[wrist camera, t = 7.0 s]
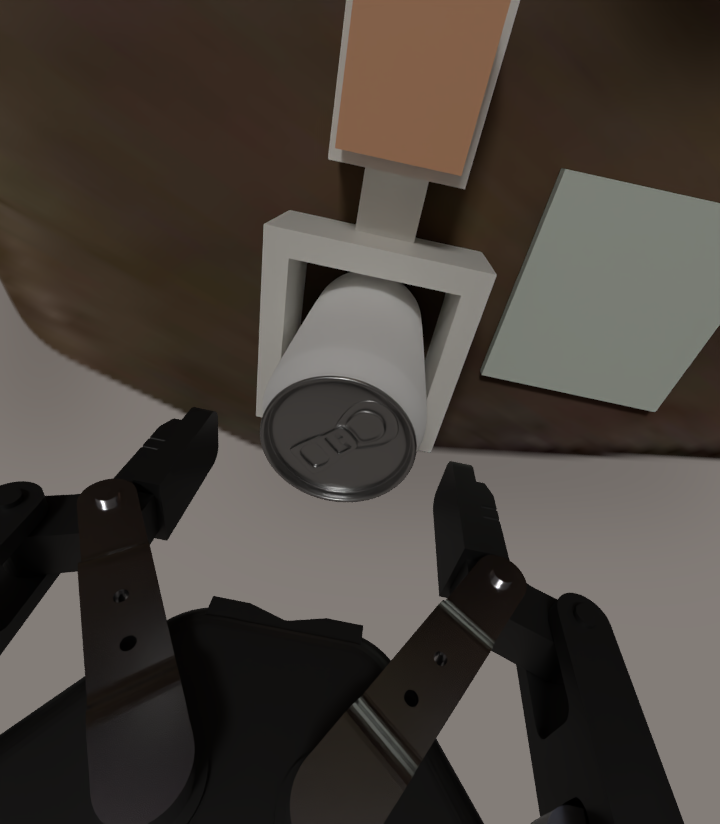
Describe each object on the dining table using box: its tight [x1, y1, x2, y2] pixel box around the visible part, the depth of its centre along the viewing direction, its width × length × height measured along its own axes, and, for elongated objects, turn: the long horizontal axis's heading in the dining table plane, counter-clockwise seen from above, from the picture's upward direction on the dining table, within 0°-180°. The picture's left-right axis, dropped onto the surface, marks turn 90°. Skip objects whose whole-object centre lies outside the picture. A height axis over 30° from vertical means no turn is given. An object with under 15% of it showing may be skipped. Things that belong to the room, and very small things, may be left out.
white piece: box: [256, 0, 520, 453], centre depth 20 cm, size 10×19×4 cm, turn 169°
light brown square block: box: [335, 0, 511, 176], centre depth 16 cm, size 5×5×4 cm
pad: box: [480, 168, 720, 412], centre depth 22 cm, size 11×11×1 cm
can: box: [260, 272, 427, 502], centre depth 19 cm, size 6×6×12 cm
